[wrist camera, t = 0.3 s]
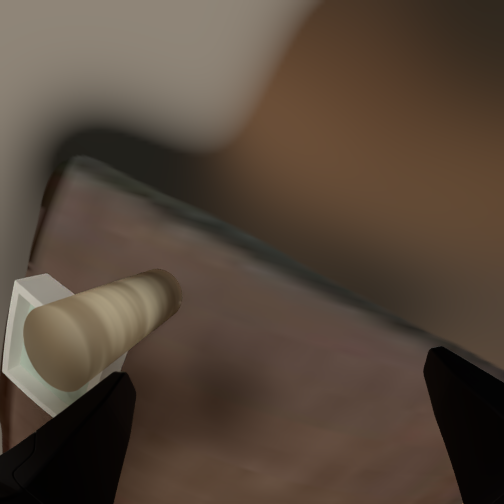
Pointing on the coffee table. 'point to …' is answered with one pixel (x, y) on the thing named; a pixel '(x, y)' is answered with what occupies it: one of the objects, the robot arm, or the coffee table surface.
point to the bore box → (15, 356)
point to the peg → (97, 326)
